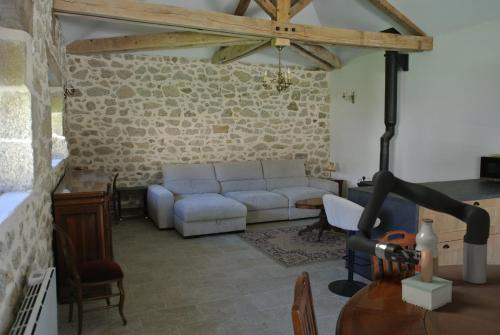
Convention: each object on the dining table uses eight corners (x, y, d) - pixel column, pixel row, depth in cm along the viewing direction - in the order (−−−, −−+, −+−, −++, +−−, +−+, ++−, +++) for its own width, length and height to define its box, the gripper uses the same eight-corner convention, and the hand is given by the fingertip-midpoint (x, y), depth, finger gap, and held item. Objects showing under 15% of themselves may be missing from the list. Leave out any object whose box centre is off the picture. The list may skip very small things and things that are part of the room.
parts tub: (422, 292, 159) (422, 275, 159) (451, 301, 149) (451, 284, 149) (402, 300, 151) (402, 283, 151) (431, 311, 141) (431, 292, 141)
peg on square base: (422, 279, 159) (422, 244, 158) (452, 287, 149) (452, 251, 148) (401, 286, 151) (401, 250, 150) (431, 296, 141) (432, 257, 140)
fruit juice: (442, 285, 167) (443, 221, 165) (420, 285, 167) (421, 221, 165) (431, 277, 176) (432, 217, 175) (411, 278, 176) (411, 217, 175)
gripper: (378, 245, 159) (414, 254, 146) (399, 240, 167) (435, 247, 154) (378, 263, 160) (414, 273, 146) (399, 257, 168) (435, 266, 154)
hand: (424, 260), depth 150 cm, fingers open, 8 cm apart
